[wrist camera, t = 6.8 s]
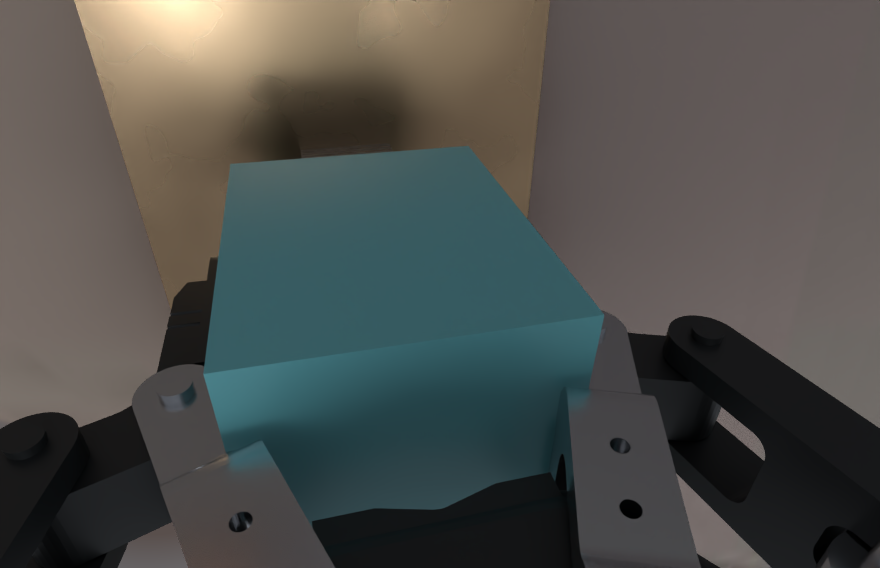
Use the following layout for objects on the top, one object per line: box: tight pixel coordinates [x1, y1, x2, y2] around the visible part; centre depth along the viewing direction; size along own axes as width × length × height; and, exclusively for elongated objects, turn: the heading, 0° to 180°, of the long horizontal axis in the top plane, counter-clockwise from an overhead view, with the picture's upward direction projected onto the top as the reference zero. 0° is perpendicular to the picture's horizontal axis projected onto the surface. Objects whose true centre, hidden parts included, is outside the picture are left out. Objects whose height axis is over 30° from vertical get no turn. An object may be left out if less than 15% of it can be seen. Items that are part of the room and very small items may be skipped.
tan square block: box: [74, 0, 550, 309], centre depth 16 cm, size 12×12×7 cm
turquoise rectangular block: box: [203, 146, 604, 526], centre depth 11 cm, size 5×5×7 cm
